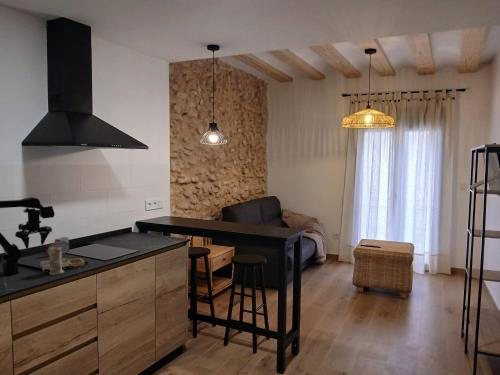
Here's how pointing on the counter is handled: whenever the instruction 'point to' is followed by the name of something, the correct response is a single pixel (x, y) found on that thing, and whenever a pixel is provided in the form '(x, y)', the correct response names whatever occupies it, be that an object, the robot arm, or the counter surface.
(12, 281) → the counter surface
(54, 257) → the beech block
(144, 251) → the counter surface
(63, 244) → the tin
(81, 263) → the trap tray
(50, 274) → the pad
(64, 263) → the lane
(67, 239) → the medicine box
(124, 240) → the counter surface
